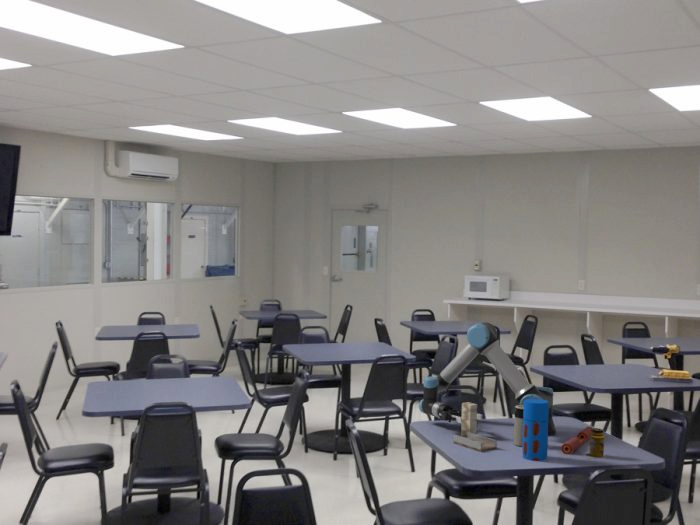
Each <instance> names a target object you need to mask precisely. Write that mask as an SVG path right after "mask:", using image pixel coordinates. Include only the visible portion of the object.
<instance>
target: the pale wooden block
mask: <svg viewBox="0 0 700 525" xmlns="http://www.w3.org/2000/svg"><path fill="white" fill-rule="evenodd" d="M461 410H462V416H461V417H462V423H460V427H461V428H460V430H461V431H460V436H462V437H465V438H468V432H470V433H474V434H477V432H478V431H477V426H478V424H477V423H478V419H477V413H478V404H477V403H474V402H473V403H472V402H468V401H467V402H462V403H461Z"/></svg>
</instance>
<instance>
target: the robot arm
mask: <svg viewBox="0 0 700 525" xmlns="http://www.w3.org/2000/svg"><path fill="white" fill-rule="evenodd" d="M497 336H498V332H497V329H496V327H495V326H494V325H493V324H492V323H490V322H485V321H483V322H481V323H480V322H479V323H475V324H473V325H472V326H470V327H469V329H468V330H467V333H466V340H467V344H466V345H465V346H463V348H462V350H461V351H459V353H458V354H456V355H455V357H454V358H453V359H452V360H451V361H450V362H449V363H448V364H447V365H446V367H445V368H443V369H442V370H441V372H440V373H439V374H438V375H437V376H426V377H424V379H423V398H422V399H420V401H419V403H418V409H419V411H420V412H421V413H423V414H425V415H426V416H427V415H428V416H432V417H436V418H437V419H441V420H442V419H443V420H444V421H446V422H447V421H448V423H451V422H454V423H459V424H461V423H462V408H461V409H460V408H458V409H455V408H453V407H452V406H451V405H450V404H447V403H444V402H439V401H438V400H439V394H440V393H442V392H445V391H446V390H448V387H449V385H451V384H452V382H454V381H455V379H456V378H457V377H458V376H459V375H460V374H461V373H462V372H463V371H464V369H466V368H467V366H469V365H470V363H472V361H473V360H474V359H475V358H476V357H477V356H478V355H479V354H480V355H481V356H482V355H483V356H485V357H486V358H487V360H488V361H489V362H490V363H491V365H492V366H493V367H494V368H495V370H496V371H497V372H498V374H499V375H500V376H501V377H502V379H503V380H504V382H506V384H507V385H508V386H509V388H510V389H511V390H512V392H513V393H514V394H515V398H514V399H515V400H516V402H517V404H518V405H524V400H525V399H541V400H546V401H548V403H549V418H548V437H550V436H554V435H556V434H557V433H556V431H557V430H556V426H555V422H554V419H553V415H554V414H553V412H554V411H553V409H554V390H553V388H552V387H546V386H545V387H544V386H536V385H535V384H532V383H529V381H528V380H527V378H526V377H525V376H524V375H523V374H522V372H521V371H520V370H519V369H518V367H517V366H516V365H515V363H514V362H513V361H512V359H511V358H510V357H509V356H508V354H507V353H506V352H505V351H504V349H503V348H502V347H501V346H500V340H499V338H498V337H497ZM483 416H484V415H483V414H480V413H478V412H477V421H478V420H479V421H483Z"/></svg>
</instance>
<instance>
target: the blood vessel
mask: <svg viewBox="0 0 700 525" xmlns="http://www.w3.org/2000/svg"><path fill="white" fill-rule="evenodd" d="M593 428H594V427H591V426H586V427H585V428H583V429H582V430H580V431H579V432H578V433H577V435H576V437H572V438H569V439H568V440H567V441H565V442H564V443H562V445H561V449H560V450H561V452H562V453H563V454H564V455H565V454H566V455H570V454H572V453H574V452H575V451H576V450H577V449H578V448H580V447H581V446H582V445H583V444H584V443H586V442H587V441H588V440H590V435H591V429H593Z"/></svg>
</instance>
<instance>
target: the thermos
mask: <svg viewBox="0 0 700 525" xmlns="http://www.w3.org/2000/svg"><path fill="white" fill-rule="evenodd" d="M548 418H549V403H548V401H546V400H541V399H525V400H524V411H523V447H522V458H523V459H526V460H529V461H535V462H537V461H538V462H543V461H546V460H548V451H549V450H548V449H549V436H548Z"/></svg>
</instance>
